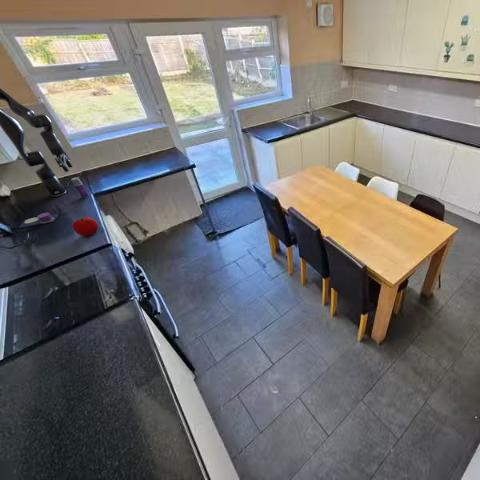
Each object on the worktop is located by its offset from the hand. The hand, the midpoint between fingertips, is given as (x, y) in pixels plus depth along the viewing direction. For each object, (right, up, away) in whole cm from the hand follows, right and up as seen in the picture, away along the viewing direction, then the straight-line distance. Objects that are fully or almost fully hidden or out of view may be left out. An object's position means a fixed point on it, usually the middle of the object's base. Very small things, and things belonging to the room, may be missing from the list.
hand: (69, 169), depth 194 cm
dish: (-2, -37, -13) cm, 40 cm away
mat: (-8, -38, -13) cm, 41 cm away
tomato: (+38, -47, -26) cm, 65 cm away
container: (0, -18, +14) cm, 22 cm away
